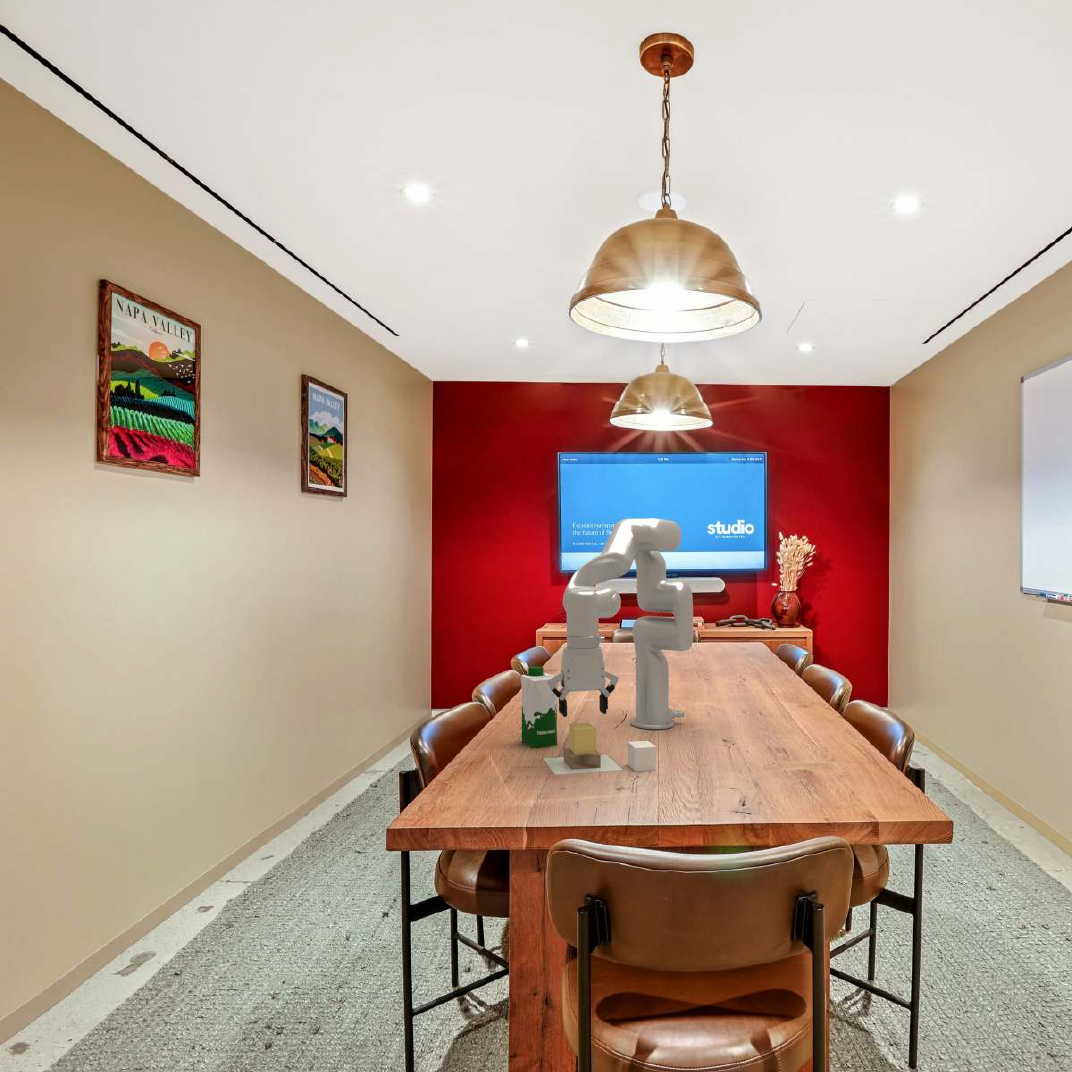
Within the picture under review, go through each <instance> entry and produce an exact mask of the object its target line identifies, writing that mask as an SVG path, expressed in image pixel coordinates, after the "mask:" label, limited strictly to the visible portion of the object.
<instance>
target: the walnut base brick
mask: <svg viewBox="0 0 1072 1072" xmlns="http://www.w3.org/2000/svg"><path fill="white" fill-rule="evenodd" d="M601 755H602V754H601V753H599V752H598V750H596V754H582V755H575V754H574V753H573V752H572V751H571V750H570V749H569V747H563V757H564V761H565V762H566V764H567V765H568V766H569V767H570V768H571V770H574V769H589V768H601Z"/></svg>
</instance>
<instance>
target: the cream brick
mask: <svg viewBox="0 0 1072 1072" xmlns="http://www.w3.org/2000/svg"><path fill="white" fill-rule="evenodd" d="M656 748H657V747H656V745H654V744H653V743H651V741H648V740H637V741H628V742H627V765H628V767H630V768H631V769H632V770H633V771H634V772H647V771H648V772H649V771H656V770H657V766H656V765H657V764H656V763H657V762H656V761H657V760H656V759H657V757H656V756H657V749H656Z"/></svg>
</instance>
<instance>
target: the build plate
mask: <svg viewBox="0 0 1072 1072" xmlns="http://www.w3.org/2000/svg"><path fill="white" fill-rule="evenodd" d="M600 755H601V768H589V769H574V770H571V768H570V767H569V766H568V765H567V764H566V762H565V761H564V756H561V757H558V756H557V757H544V758H543V761H544V762H545V763H546V764H547V765H548V768H549V769H550V770H551V771H552V772H553V773H554V775H555V776H557V775H559V776H560V775H570V774H572V775H573V774H586V773H601V772H602V773H603V772H614V771H615V772H617V771H623V769H622V768H621V767H620V765H618V764H617V763H616V762H615V761H614V760H613V759H612V758H610V756H608V755H607V754H600Z"/></svg>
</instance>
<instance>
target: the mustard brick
mask: <svg viewBox="0 0 1072 1072" xmlns="http://www.w3.org/2000/svg"><path fill="white" fill-rule="evenodd" d="M568 725H569V730H568V731H569V733H568V735H569V736H568V738H569V742H568V744H569V746H568V748H569V749H570V750H571V751H572V752H573V753H574V754H575V755H582V754H596V751H597V749H596V747H597V746H596V736H597V734H596V733H597V732H596V731H597V730H596V727H595V725H593V724H592V723H591V722H575V723H569V724H568Z"/></svg>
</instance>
